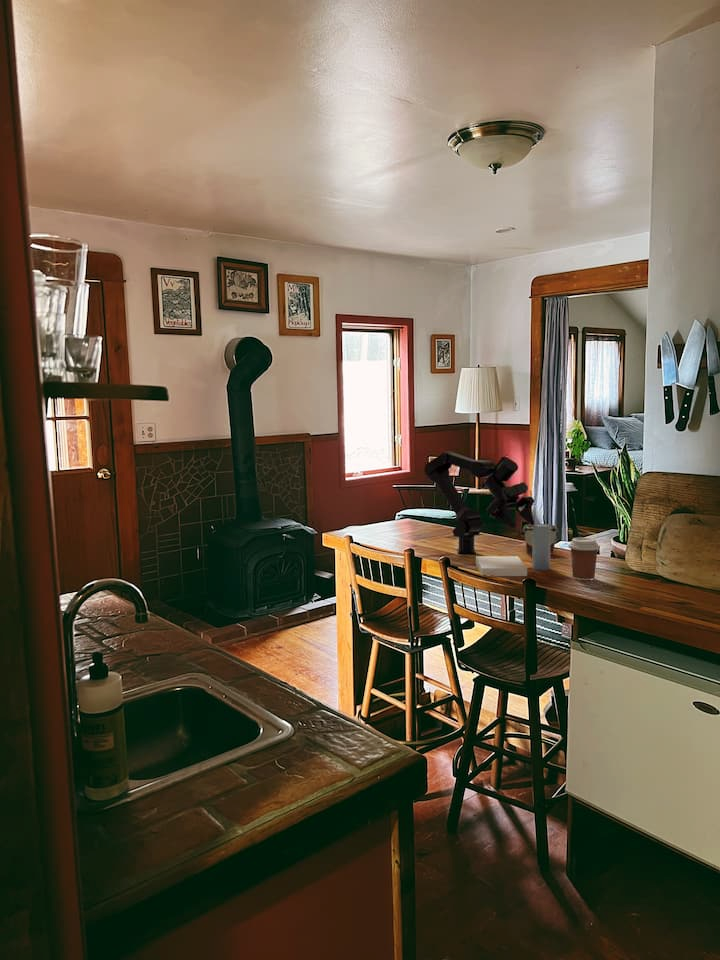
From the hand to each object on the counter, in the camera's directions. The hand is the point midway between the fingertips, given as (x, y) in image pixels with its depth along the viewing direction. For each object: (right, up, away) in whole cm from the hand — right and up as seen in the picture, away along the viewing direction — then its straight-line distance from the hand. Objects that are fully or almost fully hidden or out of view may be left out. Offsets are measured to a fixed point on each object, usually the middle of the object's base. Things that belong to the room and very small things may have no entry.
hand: (524, 525), depth 235 cm
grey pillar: (+4, -14, -4) cm, 15 cm away
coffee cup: (+14, -15, -19) cm, 28 cm away
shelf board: (-9, -14, -5) cm, 17 cm away
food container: (+10, -11, +21) cm, 26 cm away
